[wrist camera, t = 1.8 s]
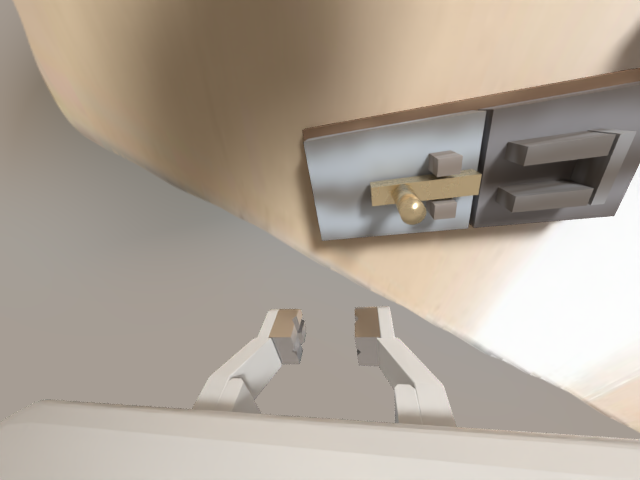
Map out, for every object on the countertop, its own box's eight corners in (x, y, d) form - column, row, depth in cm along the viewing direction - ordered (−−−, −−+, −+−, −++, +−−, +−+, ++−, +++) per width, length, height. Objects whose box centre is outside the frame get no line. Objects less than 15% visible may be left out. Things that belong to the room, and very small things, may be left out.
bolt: (369, 182, 25) (375, 206, 19) (472, 168, 23) (514, 191, 17) (371, 199, 26) (376, 228, 20) (469, 188, 24) (508, 216, 18)
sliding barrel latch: (305, 128, 28) (289, 135, 21) (630, 69, 22) (755, 52, 15) (323, 230, 35) (316, 260, 28) (576, 206, 29) (646, 237, 22)
